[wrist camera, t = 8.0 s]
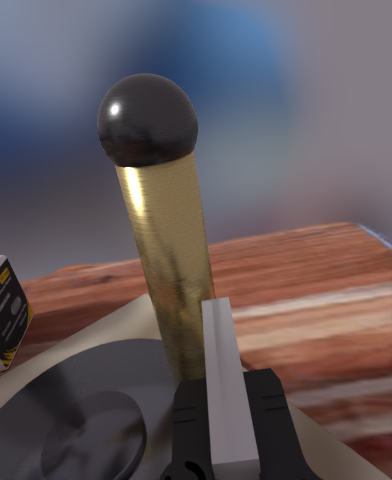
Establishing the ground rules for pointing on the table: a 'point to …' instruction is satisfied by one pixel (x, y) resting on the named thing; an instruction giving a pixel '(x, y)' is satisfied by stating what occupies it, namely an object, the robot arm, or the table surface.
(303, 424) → the stand
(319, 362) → the table surface
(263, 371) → the robot arm
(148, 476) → the brass rod on disc
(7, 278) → the medicine bottle
